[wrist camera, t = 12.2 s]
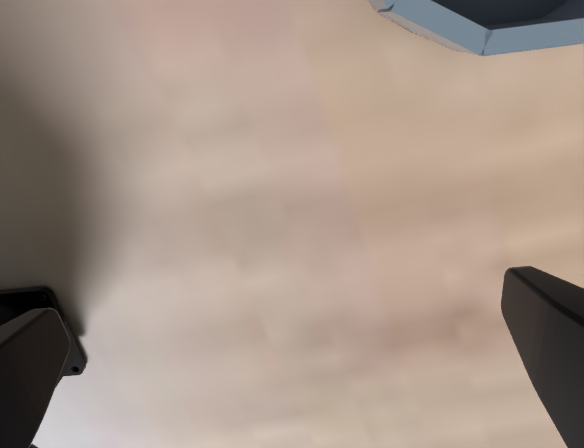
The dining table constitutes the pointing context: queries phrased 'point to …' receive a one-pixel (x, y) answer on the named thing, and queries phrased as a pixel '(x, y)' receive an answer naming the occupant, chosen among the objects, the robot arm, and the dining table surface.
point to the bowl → (489, 23)
